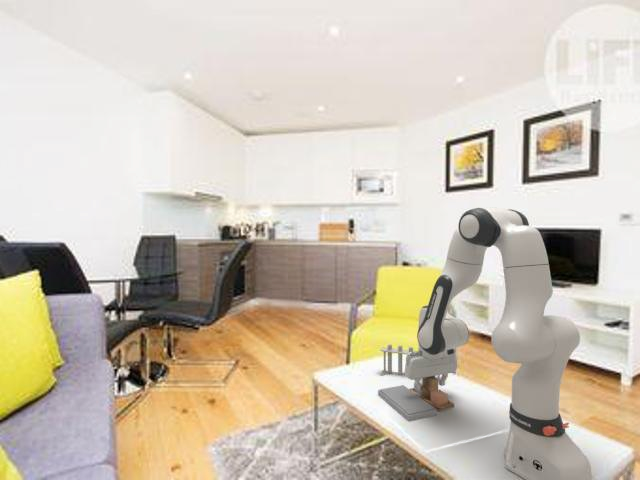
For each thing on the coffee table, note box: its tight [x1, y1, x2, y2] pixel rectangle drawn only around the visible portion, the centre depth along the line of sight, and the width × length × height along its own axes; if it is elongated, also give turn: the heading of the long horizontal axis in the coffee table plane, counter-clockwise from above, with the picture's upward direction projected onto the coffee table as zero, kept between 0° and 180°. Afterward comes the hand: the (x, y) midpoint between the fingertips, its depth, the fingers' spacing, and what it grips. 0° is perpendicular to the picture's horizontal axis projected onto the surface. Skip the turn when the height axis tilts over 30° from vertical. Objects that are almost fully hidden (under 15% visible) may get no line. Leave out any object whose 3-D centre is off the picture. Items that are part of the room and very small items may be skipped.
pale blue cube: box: [413, 379, 422, 396], centre depth 140 cm, size 4×4×4 cm
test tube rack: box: [379, 343, 441, 382], centre depth 156 cm, size 25×4×13 cm, turn 66°
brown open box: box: [408, 376, 455, 413], centre depth 136 cm, size 16×7×10 cm, turn 25°
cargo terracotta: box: [431, 389, 449, 407], centre depth 131 cm, size 4×4×4 cm
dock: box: [377, 384, 438, 422], centre depth 132 cm, size 20×11×3 cm, turn 20°
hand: (430, 387), depth 136 cm, fingers open, 8 cm apart
